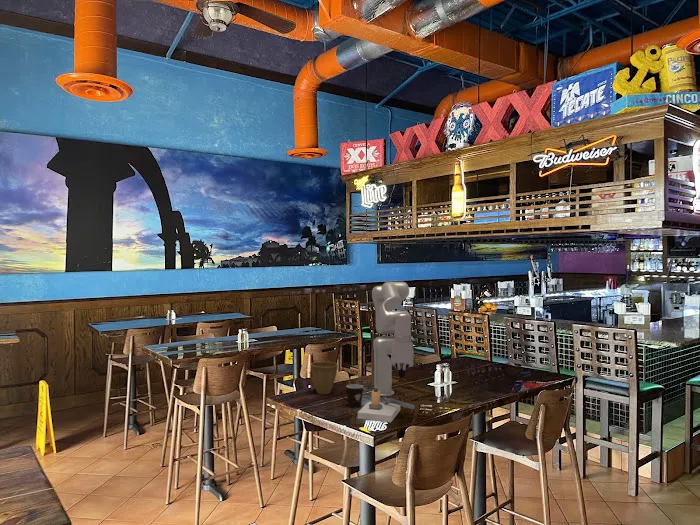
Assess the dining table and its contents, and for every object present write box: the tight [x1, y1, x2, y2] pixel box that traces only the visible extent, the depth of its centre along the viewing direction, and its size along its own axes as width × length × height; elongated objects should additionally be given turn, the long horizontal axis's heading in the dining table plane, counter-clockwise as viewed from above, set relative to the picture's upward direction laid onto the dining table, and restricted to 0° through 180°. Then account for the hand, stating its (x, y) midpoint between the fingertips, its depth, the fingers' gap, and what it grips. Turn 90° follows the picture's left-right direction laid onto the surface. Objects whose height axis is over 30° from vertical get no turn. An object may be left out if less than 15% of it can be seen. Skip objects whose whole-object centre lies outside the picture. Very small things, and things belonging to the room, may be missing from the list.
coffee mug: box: [339, 383, 364, 409], centre depth 267 cm, size 12×9×10 cm
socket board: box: [357, 400, 401, 423], centre depth 253 cm, size 20×16×3 cm
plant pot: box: [310, 361, 339, 395], centre depth 291 cm, size 15×15×16 cm
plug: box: [369, 387, 382, 410], centre depth 253 cm, size 6×6×12 cm
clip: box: [382, 396, 416, 410], centre depth 254 cm, size 19×2×3 cm, turn 42°
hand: (402, 377), depth 248 cm, fingers closed
